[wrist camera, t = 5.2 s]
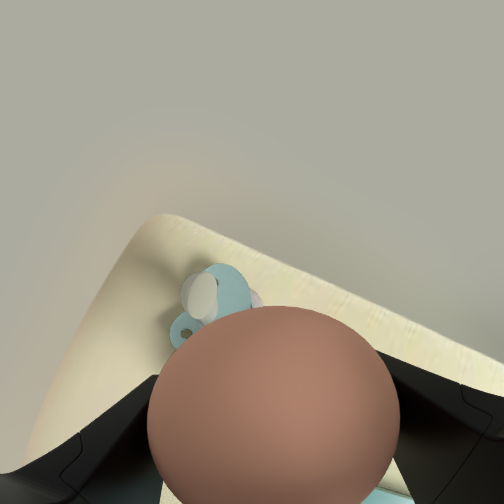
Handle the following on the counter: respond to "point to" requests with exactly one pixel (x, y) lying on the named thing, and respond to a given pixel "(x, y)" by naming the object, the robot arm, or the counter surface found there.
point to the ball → (273, 412)
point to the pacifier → (211, 299)
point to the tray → (387, 497)
